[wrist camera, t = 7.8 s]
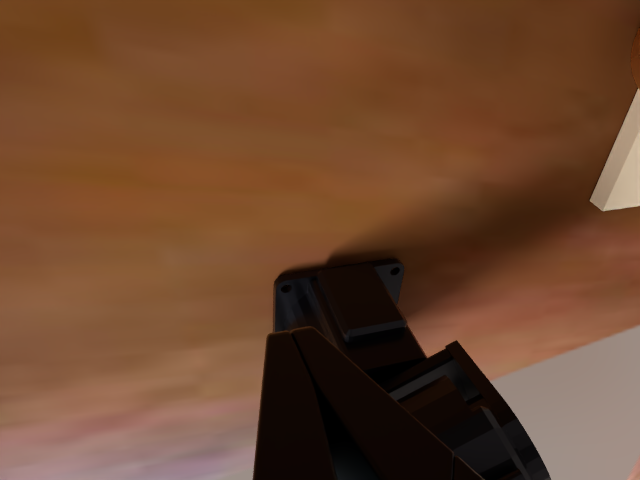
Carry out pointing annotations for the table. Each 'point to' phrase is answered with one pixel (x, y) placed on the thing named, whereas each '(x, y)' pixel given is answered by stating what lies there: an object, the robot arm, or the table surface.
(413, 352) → the robot arm
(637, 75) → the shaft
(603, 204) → the bearing block
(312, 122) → the table surface
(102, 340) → the table surface
